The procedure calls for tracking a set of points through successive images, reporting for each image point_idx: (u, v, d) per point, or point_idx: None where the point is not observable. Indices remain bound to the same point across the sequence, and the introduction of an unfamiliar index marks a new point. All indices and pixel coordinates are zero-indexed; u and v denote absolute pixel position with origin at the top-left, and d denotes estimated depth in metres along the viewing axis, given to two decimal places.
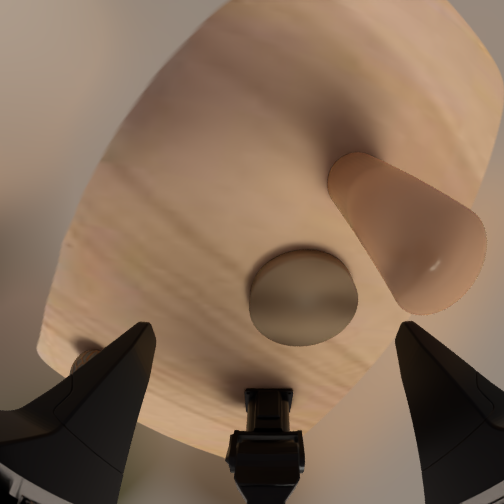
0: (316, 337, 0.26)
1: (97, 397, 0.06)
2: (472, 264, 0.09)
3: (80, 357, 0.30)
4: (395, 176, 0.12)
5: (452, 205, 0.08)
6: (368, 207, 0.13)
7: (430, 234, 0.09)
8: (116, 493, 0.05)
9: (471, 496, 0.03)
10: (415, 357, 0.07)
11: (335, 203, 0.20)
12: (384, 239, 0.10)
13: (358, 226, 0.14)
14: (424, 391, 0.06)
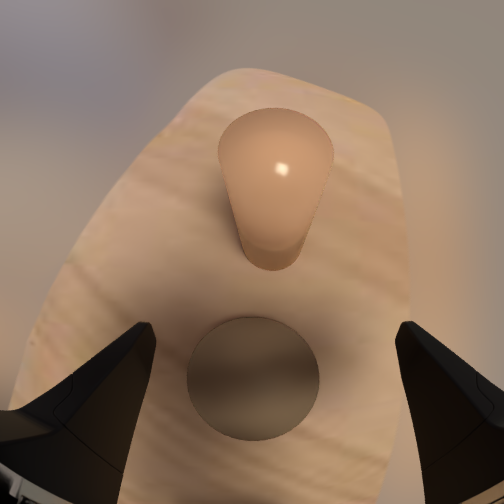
0: (282, 422, 0.18)
1: (97, 397, 0.06)
2: (314, 140, 0.12)
3: None
4: None
5: (256, 111, 0.12)
6: None
7: (242, 129, 0.12)
8: (116, 493, 0.05)
9: (471, 496, 0.03)
10: (415, 357, 0.07)
11: (246, 252, 0.22)
12: None
13: None
14: (424, 391, 0.06)
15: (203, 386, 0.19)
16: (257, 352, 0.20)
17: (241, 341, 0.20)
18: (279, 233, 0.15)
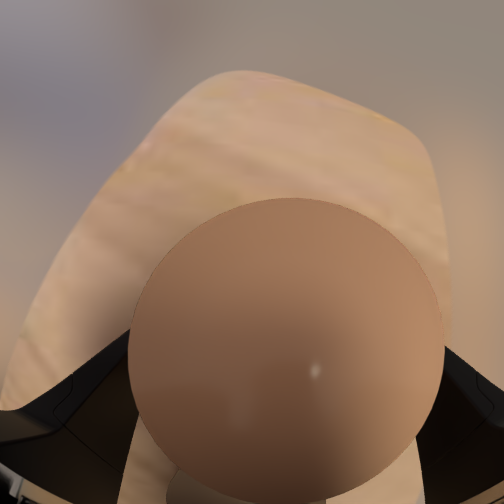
0: None
1: (97, 397, 0.06)
2: (405, 326, 0.04)
3: None
4: None
5: (239, 209, 0.05)
6: None
7: (194, 287, 0.04)
8: (116, 493, 0.05)
9: (471, 496, 0.03)
10: None
11: None
12: None
13: None
14: None
15: None
16: None
17: None
18: None
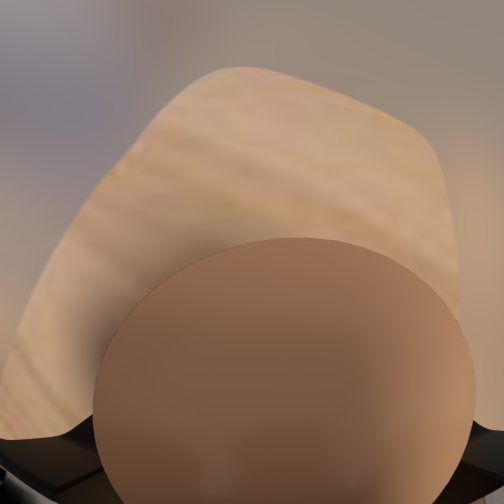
0: None
1: None
2: (433, 403, 0.02)
3: None
4: None
5: (223, 253, 0.03)
6: None
7: (164, 363, 0.03)
8: None
9: None
10: None
11: None
12: None
13: None
14: None
15: None
16: None
17: None
18: None
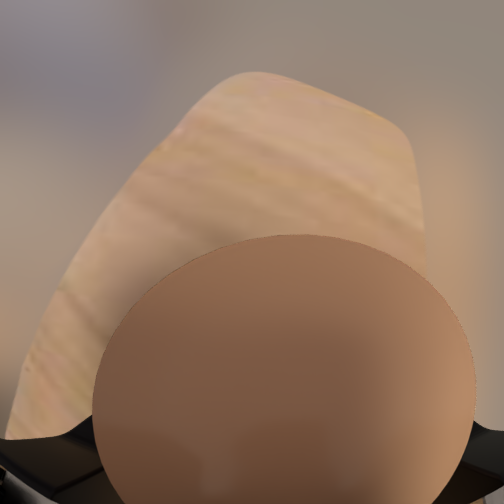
0: None
1: None
2: (434, 401, 0.02)
3: None
4: None
5: (223, 250, 0.03)
6: None
7: (164, 359, 0.03)
8: None
9: None
10: None
11: None
12: None
13: None
14: None
15: None
16: None
17: None
18: None
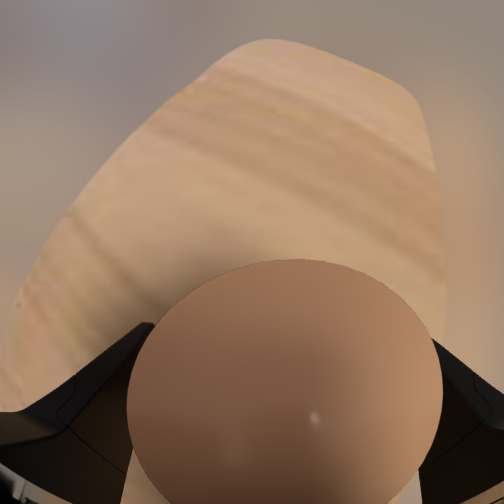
0: None
1: (101, 398, 0.06)
2: (404, 391, 0.03)
3: None
4: None
5: (236, 271, 0.04)
6: None
7: (190, 357, 0.04)
8: (119, 494, 0.05)
9: (468, 498, 0.03)
10: None
11: None
12: None
13: None
14: None
15: None
16: None
17: None
18: None
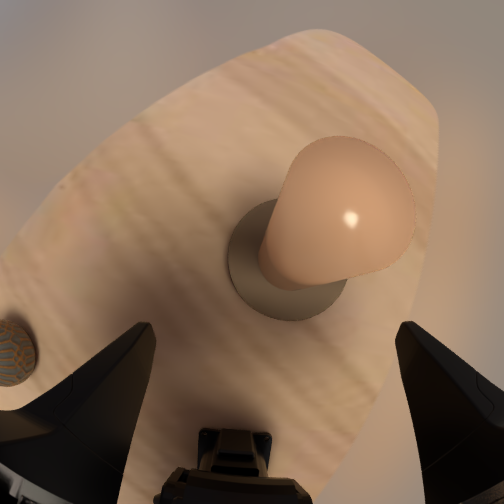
0: (307, 306, 0.21)
1: (97, 397, 0.06)
2: (399, 202, 0.09)
3: None
4: None
5: (340, 137, 0.10)
6: None
7: (321, 158, 0.09)
8: (116, 493, 0.05)
9: (471, 496, 0.03)
10: (415, 357, 0.07)
11: (263, 267, 0.20)
12: (280, 194, 0.10)
13: (270, 236, 0.14)
14: (424, 391, 0.06)
15: (245, 248, 0.22)
16: None
17: None
18: (317, 281, 0.13)
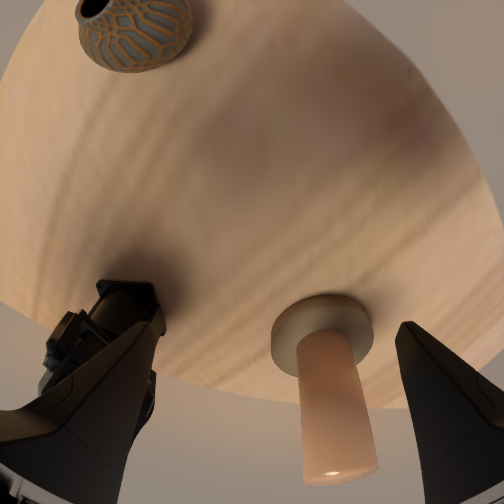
0: (283, 360, 0.25)
1: (97, 397, 0.06)
2: (338, 482, 0.14)
3: None
4: None
5: (378, 467, 0.13)
6: (354, 415, 0.15)
7: (365, 469, 0.12)
8: (116, 493, 0.05)
9: (471, 496, 0.03)
10: (415, 357, 0.07)
11: (315, 349, 0.22)
12: (354, 448, 0.13)
13: (335, 409, 0.16)
14: (424, 391, 0.06)
15: (332, 320, 0.23)
16: None
17: (356, 345, 0.24)
18: (302, 432, 0.17)
